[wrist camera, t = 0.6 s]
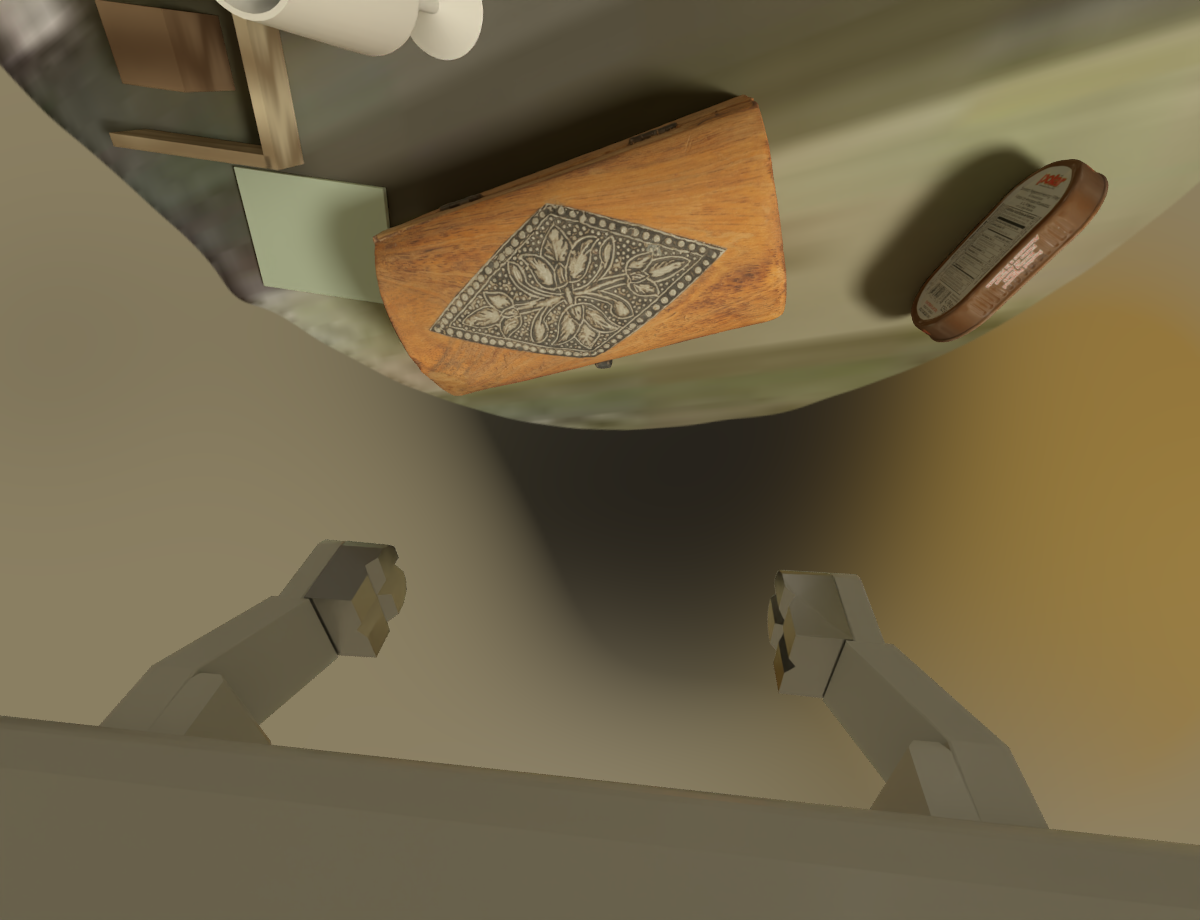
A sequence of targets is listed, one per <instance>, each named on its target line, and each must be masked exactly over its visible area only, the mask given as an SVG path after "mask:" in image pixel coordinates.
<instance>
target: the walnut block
mask: <svg viewBox="0 0 1200 920" xmlns="http://www.w3.org/2000/svg"><path fill="white" fill-rule="evenodd" d="M95 3H96V5H97V8H98V11H99V14H100V17H101V20H102V23H103V26H104V29H105V32H106V35H107V38H108V41H109V44H110V47H111V50H112V53H113V56H114V59H115V62H116V65H117V68H118V71H119V74H120V77H121V80H122V83H123V84H130V85H137V86H144V87H151V88H158V89H165V90H172V91H179V92H207V91H233V90H235V85H234V81H233V77H232V73H231V69H230V64H229V60H228V56H227V52H226V47H225V43H224V39H223V35H222V30H221V26H220V22H219V18H218V16H215V15H208V14H201V13H193V12H186V11H179V10H172V9H165V8H157V7H149V6H142V5H134V4H126V3H118V2H110V1H102V0H95Z"/></svg>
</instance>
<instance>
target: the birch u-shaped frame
mask: <svg viewBox="0 0 1200 920" xmlns="http://www.w3.org/2000/svg"><path fill="white" fill-rule="evenodd" d="M232 16H233V20H234V25H235V29H236V34H237V38H238V43H239V47H240V52H241V56H242V61H243V65H244V69H245V74H246V78H247V83H248V87H249V92H250V96H251V101H252V105H253V110H254V114H255V119H256V123H257V127H258V132H259V136H260V141H261V145H262V146H261V145H254V144H247V143H240V142H233V141H226V140H219V139H212V138H206V137H199V136H192V135H185V134H178V133H171V132H164V131H157V130H150V129H141V130H131V131H122V132H112V133H109V134H110V137H111V139H112V142H113V145H114V146H116V147H123V148H129V149H136V150H143V151H150V152H157V153H164V154H171V155H178V156H184V157H191V158H198V159H205V160H212V161H219V162H226V163H233V164H239V165H246V166H253V167H260V168H267V169H274V170H281V169H285V168H289V167H293V166H297V165H301V164H304V161H303V156H302V150H301V145H300V140H299V134H298V129H297V124H296V118H295V113H294V107H293V102H292V97H291V91H290V86H289V81H288V75H287V70H286V65H285V59H284V54H283V49H282V43H281V38H280V33H279V29H276V28H273V27H270V26H266V25H263V24H260V23H256V22H253V21H250V20H246V19H243V18H241V17H239V16H237V15H234V14H233V13H232Z"/></svg>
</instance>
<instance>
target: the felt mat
mask: <svg viewBox="0 0 1200 920" xmlns="http://www.w3.org/2000/svg"><path fill="white" fill-rule="evenodd" d="M234 170H235V174H236V178H237V182H238V186H239V190H240V193H241V197H242V201H243V205H244V209H245V213H246V217H247V221H248V225H249V229H250V233H251V236H252V240H253V244H254V248H255V252H256V256H257V260H258V264H259V268H260V272H261V276H262V280H263V283H264V286H269V287H276V288H282V289H289V290H296V291H302V292H309V293H315V294H322V295H329V296H335V297H342V298H349V299H355V300H362V301H368V302H375V303H382V304H383V301H382V298H381V295H380V291H379V286H378V281H377V277H376V269H375V254H374V251H375V244H374V241H373V236H375V235H377V234H378V233H380V232H382V231H384V230H387V229H389V228H390V222H389V213H388V204H387V195H386V188H385V187H378V186H372V185H365V184H358V183H351V182H344V181H337V180H330V179H324V178H317V177H310V176H303V175H296V174H289V173H282V172H275V171H269V170H262V169H255V168H248V167H241V166H236V167H234Z"/></svg>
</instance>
